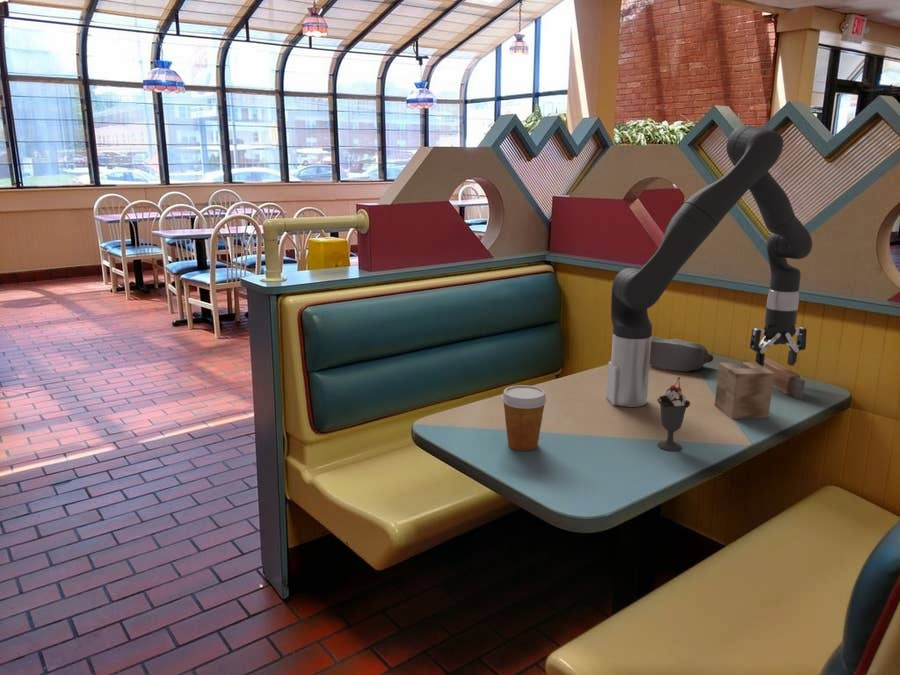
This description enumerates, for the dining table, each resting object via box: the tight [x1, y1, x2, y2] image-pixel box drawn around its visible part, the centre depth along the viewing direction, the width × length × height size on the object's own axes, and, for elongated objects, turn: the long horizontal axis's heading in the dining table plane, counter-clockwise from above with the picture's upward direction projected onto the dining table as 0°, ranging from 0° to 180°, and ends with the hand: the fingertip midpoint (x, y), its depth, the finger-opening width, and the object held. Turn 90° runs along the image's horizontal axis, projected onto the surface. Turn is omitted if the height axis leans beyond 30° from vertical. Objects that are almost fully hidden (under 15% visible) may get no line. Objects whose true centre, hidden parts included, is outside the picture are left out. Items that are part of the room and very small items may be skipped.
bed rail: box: [763, 357, 806, 401], centre depth 188 cm, size 3×20×5 cm, turn 4°
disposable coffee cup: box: [501, 384, 548, 452], centre depth 150 cm, size 10×10×12 cm
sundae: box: [656, 376, 691, 452], centre depth 149 cm, size 7×7×15 cm
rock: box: [649, 336, 714, 373], centre depth 206 cm, size 18×11×8 cm, turn 57°
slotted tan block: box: [714, 361, 774, 420], centre depth 169 cm, size 9×9×11 cm
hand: (775, 365), depth 191 cm, fingers open, 8 cm apart
